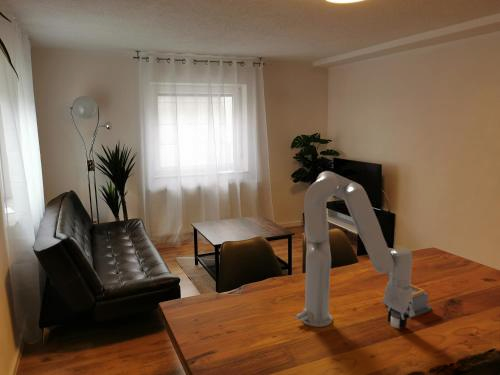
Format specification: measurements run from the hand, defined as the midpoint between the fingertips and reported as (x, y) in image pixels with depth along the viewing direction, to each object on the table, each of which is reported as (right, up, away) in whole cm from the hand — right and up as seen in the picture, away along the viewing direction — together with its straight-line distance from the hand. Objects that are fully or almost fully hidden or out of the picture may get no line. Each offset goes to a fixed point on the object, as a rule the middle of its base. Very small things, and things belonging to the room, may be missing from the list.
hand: (396, 323), depth 154 cm
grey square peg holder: (+10, +2, +14) cm, 17 cm away
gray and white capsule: (0, -1, 0) cm, 1 cm away
